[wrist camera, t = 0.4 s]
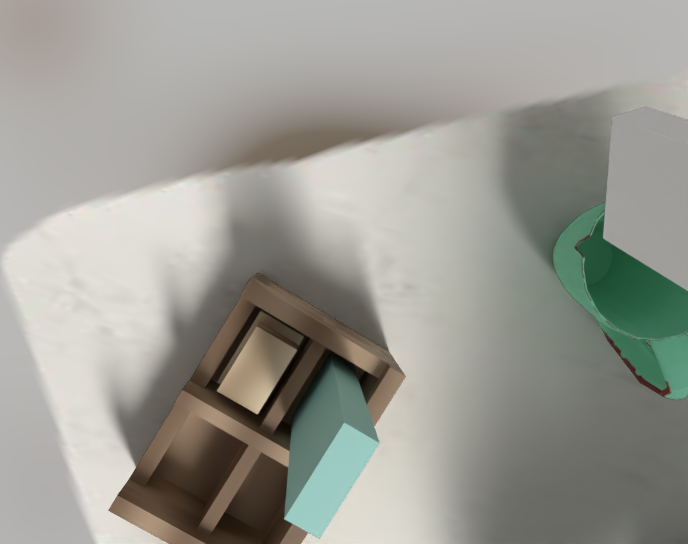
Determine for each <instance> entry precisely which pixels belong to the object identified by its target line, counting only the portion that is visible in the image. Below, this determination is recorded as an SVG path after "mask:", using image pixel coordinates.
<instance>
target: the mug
mask: <svg viewBox="0 0 688 544" xmlns="http://www.w3.org/2000/svg"><path fill="white" fill-rule="evenodd" d="M605 205H606V201H605V202H604V203H602V204H599V205H597V206H595V207H593V208H592V209H590V210H588V211H586V212H585V213H583V214H581V215H580V216H579V217H577V218H576V219H575V220H574V221H573V222H572V223H571V224H570V225H569V226H568V227H567V228H566V229H565V230H564V231H563V232H562V234H561V235H560V237H559V238H558V240H557V242H556V244H555V247H554V249H553V256H552V258H553V264H554V268H555V271H556V273H557V275H558V277H559V279H560V281H561V283H562V285H563V286H564V287H565V289H566V290H567V291H568V293H569V294H570V295H571V296H572V297H573V298H574V299H575V300H576V301H577V302H578V303H579V304H580V305H581V306H583V307H584V308H585V309H586V310H587V311H588V312H589V313H590V314H592V315H593V316H594V317H595V318H596V319H597V321H598V323H599V325H600V327H601V329H602V331H603V332H604V334H605V336H606V338H607V340H608V342H609V343H610V344H611V345H612V347H613V348H614V349H615V351H616V352H617V353H618V355H619V356H620V357H621V359H622V360H623V361H624V362H625V364H626V365H627V366H628V368H629V369H630V370H631V372H632V373H633V374H634V376H635V377H636V378H637V380H638V381H639V382H640V383H641V384H643V385H645V386H646V387H648V388H650V389H651V390H653V391H655V392H656V393H658V394H660V395H661V396H663V397H666V398H670V399H676V400H680V399H684V398H685V397H687V396H688V337H687V334H686V333H688V291H687V290H685V289H684V288H682V287H681V286H679V285H677V284H676V283H674V282H673V281H671V280H669V279H668V278H666V277H664V276H663V275H661V274H660V273H658V272H656V271H655V270H653V269H652V268H650V267H648V266H647V265H645V264H644V263H642V262H640V261H639V260H637V259H635V258H634V257H632V256H631V255H629V254H627V253H626V252H624V251H623V250H621V249H619V248H618V247H616V246H614V245H613V244H611V243H610V242H608V241H606V240H605V239H603V231H604V218H605ZM646 340H649V342H650V344H651V346H652V348H651V346H650V345H649V344H648V343H647V342H646Z"/></svg>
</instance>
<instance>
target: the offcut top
mask: <svg viewBox="0 0 688 544" xmlns="http://www.w3.org/2000/svg"><path fill="white" fill-rule="evenodd" d="M297 347H298V344H296V343H295V342H293V341H291V340H289V339H288V338H286V337H284V336H283V335H281V334H279V333H278V332H276V331H274V330H273V329H271V328H269V327H268V326H266V325H264V324H263V323H261V322H259V323H258V324H257V326H256V328H255V329H254V331H253V332H252V334H251V336H250V337H249V339H248V341H247V342H246V344H245V345H244V347H243V349H242V350H241V352H240V354H239V355H238V357H237V358H236V360H235V362H234V363H233V365H232V367H231V368H230V370H229V371H228V373H227V375H226V376H225V378H224V380H223V381H222V383H221V385H220V386H219V388H218V390H217V391H218V392H219V393H221V394H223V395H224V396H226V397H228V398H230V399H231V400H233V401H235V402H237V403H238V404H240V405H242V406H243V407H245V408H247V409H249V410H250V411H252V412H254V413H256V414H257V415H258V413H259V411H260V410H261V408H262V406H263V405H264V403H265V402H266V400H267V398H268V397H269V395H270V394H271V392H272V390H273V389H274V387H275V385H276V384H277V382H278V381H279V379H280V377H281V376H282V374H283V372H284V371H285V369H286V368H287V366H288V364H289V363H290V361H291V360H292V358H293V356H294V355H295V353H296V351H297Z"/></svg>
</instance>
